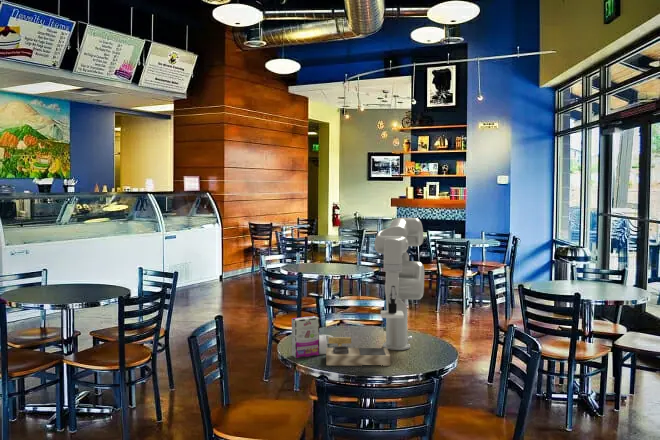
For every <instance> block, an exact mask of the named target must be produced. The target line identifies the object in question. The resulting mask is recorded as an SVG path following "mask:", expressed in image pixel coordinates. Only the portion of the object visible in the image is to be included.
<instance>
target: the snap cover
mask: <svg viewBox="0 0 660 440" xmlns="http://www.w3.org/2000/svg"><path fill="white" fill-rule="evenodd" d="M380 316H381V317H380V318H381V319H386V318H404V314H403V312H402V311H396V313H389V301H388V311H386V310H380Z"/></svg>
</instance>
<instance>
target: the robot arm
mask: <svg viewBox="0 0 660 440" xmlns="http://www.w3.org/2000/svg"><path fill="white" fill-rule="evenodd" d="M423 243H424V228H423V224H422V221H421V220H420V219H419V218H417V217H397V218H394V219H393V220H392V221H391V223H390V225H389V227H387V228H384V229H382V230H379V232H377V234H376V235H375V239H374V245H373V246H374V250H375V252H376V253H378V254H383V272H385V282H384V292H385V293H384V294H385V303H386V310H385V311H388V301H389V313H396V311H402V312H403V314H404V318H385V319H386V321H385V324H386V326H385V327H386V328H385V330H386V331H385V335H386V336H385V342H383V343H382V348H387V349H388V350H389V351H390V350H391V351H405V350H409V349H411V344H410V343H409V341H413V340H414V339H413V336H412V335H408V307H407V305H406V304H405V303H404V301H403V300H413V301H414V300H415V301H416V300H421V299H422V298H423V296H424V293H425V266H424V264H423V263H422V262H421V261H415V260H410V254H409V253H408V252H407V251H408V250H409V247H420V246H421V245H423Z"/></svg>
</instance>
